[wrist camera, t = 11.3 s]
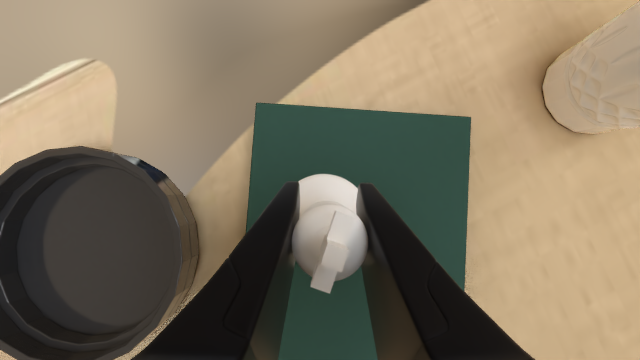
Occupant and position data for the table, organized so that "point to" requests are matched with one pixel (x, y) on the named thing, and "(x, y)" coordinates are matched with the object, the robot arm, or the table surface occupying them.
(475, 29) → the table surface
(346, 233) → the chess piece
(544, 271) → the table surface
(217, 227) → the table surface
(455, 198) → the desk mat
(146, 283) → the dish
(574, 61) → the white cup
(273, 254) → the robot arm
